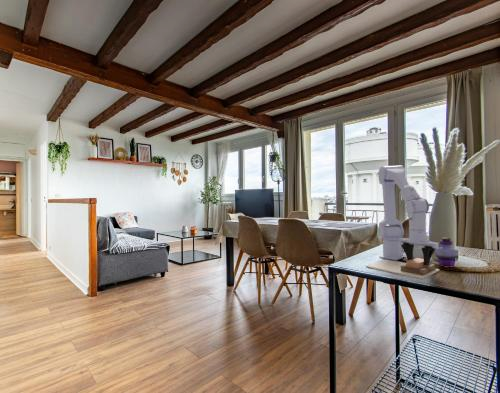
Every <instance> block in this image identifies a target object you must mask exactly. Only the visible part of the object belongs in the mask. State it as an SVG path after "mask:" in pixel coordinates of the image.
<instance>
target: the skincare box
mask: <svg viewBox="0 0 500 393" xmlns="http://www.w3.org/2000/svg"><path fill="white" fill-rule="evenodd" d="M426 241H428V233H427V231H426ZM423 247H425V246H419V245H414V248H413V257H414V258H413V259H416V258H421V259H424V257H423V252H422V248H423Z"/></svg>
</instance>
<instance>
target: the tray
mask: <svg viewBox="0 0 500 393" xmlns="http://www.w3.org/2000/svg"><path fill="white" fill-rule="evenodd" d="M436 265H437V264H436V263H430V265H429V266H427V267H425V268H423V269H417V268H412V267H407V264H405V265H402V266H401V271H403V272H408V273H413V274H418V275H422V276H423V275H425V274H427V273H429V272H431V271H433V270H435V269H437V268H436V267H437V266H436Z"/></svg>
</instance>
